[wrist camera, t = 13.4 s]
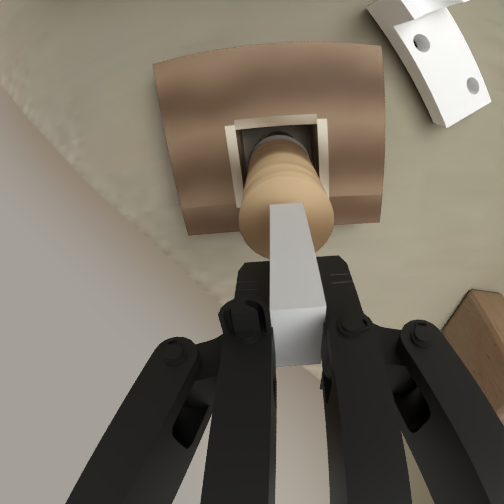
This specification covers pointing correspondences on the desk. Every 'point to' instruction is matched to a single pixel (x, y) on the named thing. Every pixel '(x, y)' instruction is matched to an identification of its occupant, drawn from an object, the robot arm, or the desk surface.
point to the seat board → (274, 123)
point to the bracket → (434, 56)
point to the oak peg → (282, 191)
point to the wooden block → (481, 342)
